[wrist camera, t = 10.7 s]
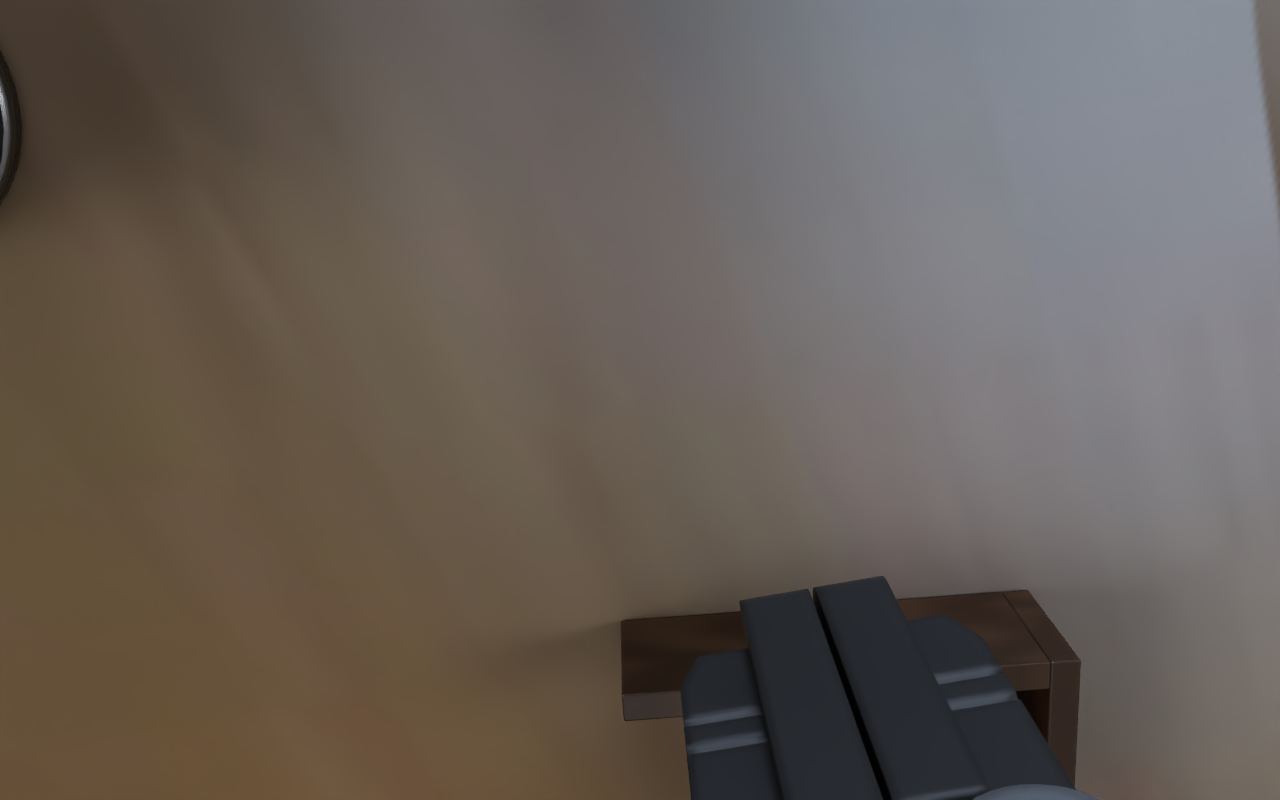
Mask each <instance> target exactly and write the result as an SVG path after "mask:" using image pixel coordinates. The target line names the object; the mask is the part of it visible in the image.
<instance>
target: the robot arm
mask: <svg viewBox="0 0 1280 800" xmlns="http://www.w3.org/2000/svg"><path fill="white" fill-rule="evenodd" d="M21 127H22V125H21V114H20V107H19V101H18V96H17V92H16V89H15V85H14V82H13V79H12V76H11V73H10V71H9V68H8V65H7V63H6V61H5V59H4V57H3V55H2V53H1V51H0V204H1V202H2V201H3V199H4V197H5V196H6V194H7V192H8V190H9V188H10V186H11V183H12V181H13V178H14V175H15V172H16V169H17V165H18V161H19V156H20V148H21ZM813 601H814V603H813ZM739 602H740V609H741V616H742V622H743V628H744V634H745V640H746V645H747V648H745V649H740V650H734V651H728V652H722V653H716V654H710V655H704V656H698V657H697V659H696V660H695V662H694V664H693V666H692V668H691V669H690V671H689V673H688V675H687V677H686V678H685V680H684V682H683V684H682V686H681V687H680V692H681V702H682V712H683V721H684V731H685V741H686V750H687V761H688V771H689V781H690V791H691V800H1100V799H1098V798H1096V797H1094V796H1091V795H1089V794H1086V793H1084V792H1081V791H1077V790H1076V789H1075V787H1074V785H1073V784H1072V782H1071V781H1070V779H1069V777H1068V776H1067V774H1066V772H1065V771H1064V769H1063V768H1062V766H1061V764H1060V763H1059V761H1058V759H1057V758H1056V756H1055V755H1054V753H1053V751H1052V750H1051V748H1050V746H1049V745H1048V743H1047V742H1046V740H1045V738H1044V737H1043V735H1042V733H1041V732H1040V730H1039V729H1038V727H1037V725H1036V724H1035V722H1034V720H1033V719H1032V717H1031V716H1030V714H1029V712H1028V711H1027V709H1026V707H1025V706H1024V704H1023V703H1022V701H1021V699H1019V700H1018V698H1017V693H1016V691H1015V690H1014V688H1013V686H1012V685H1011V683H1010V681H1009V680H1008V678H1007V677H1006V675H1005V673H1004V674H1002V671H1001V667H1000V665H999V664H998V662H997V660H996V659H995V657H994V655H993V654H992V652H991V651H990V649H989V647H988V646H987V644H986V642H985V641H984V639H983V638H982V636H980V635H978V634H977V633H975V632H973V631H972V630H970V629H969V628H967V627H965V626H964V625H962V624H960V623H959V622H957V621H956V620H954V619H952V618H951V617H949V616H947V615H946V614H944V615H938V616H932V617H926V618H921V619H915V620H909V621H907V620H906V618H905V616H904V614H903V612H902V610H901V608H900V606H899V604H898V602H897V600H896V598H895V596H894V594H893V592H892V590H891V588H890V586H889V584H888V582H887V581H886V579H885V578H884V576H879V577H873V578H867V579H861V580H855V581H850V582H844V583H838V584H832V585H826V586H820V587H815V588H813V600H812V597H811V594H810V592H809V590H808V589H804V590H798V591H793V592H787V593H781V594H775V595H769V596H763V597H758V598H752V599H746V600H740V601H739Z"/></svg>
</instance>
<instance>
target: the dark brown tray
mask: <svg viewBox="0 0 1280 800" xmlns="http://www.w3.org/2000/svg"><path fill="white" fill-rule="evenodd" d="M897 602H898V604H899V606H900V608H901V610H902V612H903V614H904V616H905V618H906V620H907V621H909V620H915V619H921V618H926V617H932V616H938V615H944V614H946V615H947V616H949V617H951V618H952V619H954V620H956V621H957V622H959V623H960V624H962V625H964V626H965V627H967V628H969V629H970V630H972V631H973V632H975V633H977V634H978V635H980V636H982V638H983V639H984V641H985V642H986V644H987V646H988V647H989V649H990V651H991V652H992V654H993V655H994V657H995V659H996V660H997V662H998V664H999V665H1000V667H1001V671H1002V674H1004V673H1005V675H1006V677H1007V678H1008V680H1009V681H1010V683H1011V685H1012V686H1013V688H1014V690H1015V691H1016V693H1017V698H1018V700H1019V699H1021V701H1022V703H1023V704H1024V706H1025V707H1026V709H1027V711H1028V712H1029V714H1030V716H1031V717H1032V719H1033V720H1034V722H1035V724H1036V725H1037V727H1038V729H1039V730H1040V732H1041V733H1042V735H1043V737H1044V738H1045V740H1046V742H1047V743H1048V745H1049V746H1050V748H1051V750H1052V751H1053V753H1054V755H1055V756H1056V758H1057V759H1058V761H1059V763H1060V764H1061V766H1062V768H1063V769H1064V771H1065V772H1066V774H1067V776H1068V777H1069V779H1070V781H1071V782H1072V784H1073V785H1075V765H1076V745H1077V725H1078V705H1079V685H1080V665H1081V661H1080V659H1079V658H1078V656H1077V655H1076V654H1075V652H1074V651H1073V650H1072V648H1071V647H1070V646H1069V644H1068V643H1067V642H1066V640H1065V639H1064V638H1063V636H1062V635H1061V634H1060V632H1059V631H1058V630H1057V628H1056V627H1055V626H1054V624H1053V623H1052V622H1051V620H1050V619H1049V618H1048V616H1047V615H1046V614H1045V612H1044V611H1043V610H1042V608H1041V607H1040V606H1039V604H1038V603H1037V602H1036V600H1035V599H1034V598H1033V596H1032V595H1031V594H1030V592H1029V591H1027V590H1025V591H1012V592H1003V593H1001V592H995V593H982V594H968V595H955V596H942V597H929V598H916V599H903V600H897ZM745 648H747V645H746V640H745V634H744V628H743V622H742V616H741V612H733V613H720V614H707V615H694V616H681V617H668V618H655V619H642V620H629V621H622V622H621V664H622V703H623V714H624V720H625V721H633V720H646V719H660V718H673V717H683V712H682V702H681V692H680V687H681V686H682V684H683V682H684V680H685V678H686V677H687V675H688V673H689V671H690V669H691V668H692V666H693V664H694V662H695V660H696V659H697V657H698V656H704V655H710V654H716V653H722V652H728V651H734V650H740V649H745Z"/></svg>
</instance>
